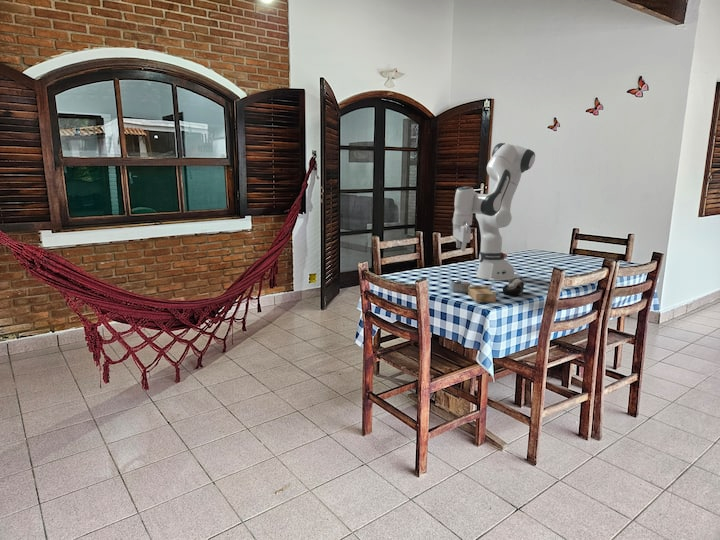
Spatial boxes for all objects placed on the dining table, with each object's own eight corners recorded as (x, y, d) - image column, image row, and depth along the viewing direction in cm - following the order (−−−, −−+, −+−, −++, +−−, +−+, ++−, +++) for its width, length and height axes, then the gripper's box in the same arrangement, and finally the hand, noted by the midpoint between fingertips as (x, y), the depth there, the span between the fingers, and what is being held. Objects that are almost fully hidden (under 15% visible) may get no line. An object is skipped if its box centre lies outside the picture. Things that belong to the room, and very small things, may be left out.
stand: (486, 294, 238) (487, 286, 237) (495, 301, 224) (496, 293, 223) (467, 294, 237) (468, 286, 237) (475, 302, 224) (476, 293, 223)
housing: (466, 290, 246) (467, 279, 245) (469, 292, 241) (470, 282, 240) (450, 290, 246) (451, 279, 245) (453, 292, 241) (453, 282, 240)
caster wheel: (506, 301, 235) (499, 293, 244) (530, 296, 235) (522, 288, 244) (505, 288, 233) (498, 280, 242) (529, 283, 232) (521, 276, 242)
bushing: (489, 291, 244) (490, 285, 243) (492, 293, 240) (492, 287, 239) (481, 291, 244) (482, 285, 243) (484, 293, 240) (484, 287, 239)
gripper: (475, 223, 227) (472, 253, 230) (463, 218, 247) (462, 246, 250) (461, 223, 227) (459, 252, 229) (451, 218, 247) (449, 246, 249)
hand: (460, 249), depth 240 cm, fingers open, 8 cm apart
